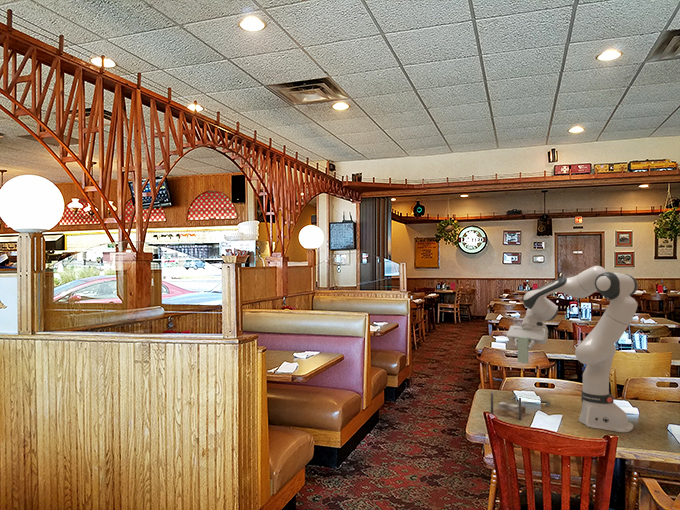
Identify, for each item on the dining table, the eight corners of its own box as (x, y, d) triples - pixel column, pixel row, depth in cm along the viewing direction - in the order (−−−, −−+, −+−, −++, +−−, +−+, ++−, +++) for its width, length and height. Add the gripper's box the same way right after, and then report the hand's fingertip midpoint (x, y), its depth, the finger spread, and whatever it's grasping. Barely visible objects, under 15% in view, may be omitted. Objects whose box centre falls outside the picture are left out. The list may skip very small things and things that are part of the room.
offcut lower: (520, 415, 248) (520, 410, 248) (516, 418, 245) (516, 412, 245) (501, 411, 255) (501, 406, 255) (496, 413, 251) (496, 408, 251)
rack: (531, 417, 250) (531, 393, 250) (521, 423, 241) (521, 399, 241) (500, 410, 261) (500, 387, 261) (489, 416, 252) (489, 392, 252)
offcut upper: (519, 410, 248) (519, 405, 248) (516, 412, 245) (516, 407, 245) (501, 406, 254) (501, 401, 254) (498, 408, 251) (498, 403, 251)
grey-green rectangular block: (528, 363, 263) (528, 337, 263) (527, 363, 262) (527, 337, 262) (518, 361, 267) (518, 336, 266) (517, 362, 265) (517, 336, 265)
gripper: (509, 320, 276) (501, 341, 269) (548, 324, 262) (540, 346, 255) (513, 327, 280) (505, 348, 272) (551, 331, 266) (544, 353, 259)
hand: (522, 347), depth 264 cm, fingers closed on grey-green rectangular block, 5 cm apart
